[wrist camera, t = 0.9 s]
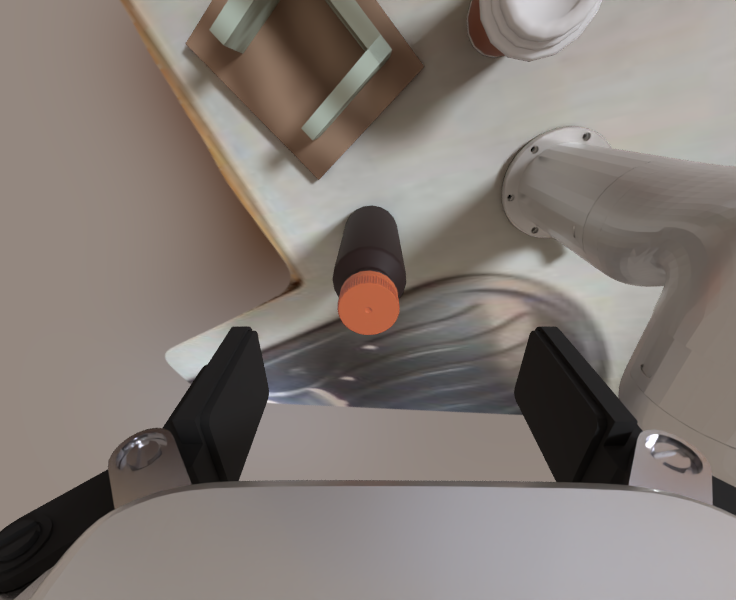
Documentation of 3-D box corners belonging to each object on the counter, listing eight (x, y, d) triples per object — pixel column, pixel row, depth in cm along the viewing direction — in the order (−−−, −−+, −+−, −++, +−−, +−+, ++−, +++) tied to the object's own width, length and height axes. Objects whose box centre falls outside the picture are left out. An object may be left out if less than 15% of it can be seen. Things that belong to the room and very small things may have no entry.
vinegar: (355, 196, 42) (340, 258, 24) (405, 215, 43) (426, 287, 25) (338, 245, 45) (315, 330, 28) (385, 262, 46) (392, 354, 29)
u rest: (290, -115, 29) (271, -164, 24) (423, 67, 35) (431, 60, 30) (190, 45, 35) (157, 33, 29) (320, 178, 41) (311, 188, 36)
